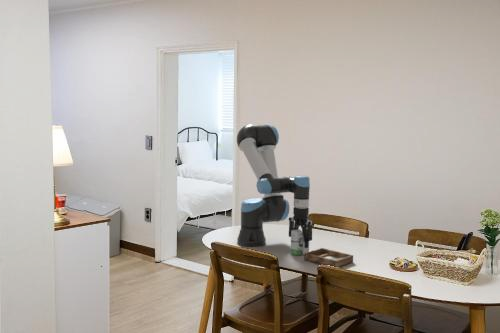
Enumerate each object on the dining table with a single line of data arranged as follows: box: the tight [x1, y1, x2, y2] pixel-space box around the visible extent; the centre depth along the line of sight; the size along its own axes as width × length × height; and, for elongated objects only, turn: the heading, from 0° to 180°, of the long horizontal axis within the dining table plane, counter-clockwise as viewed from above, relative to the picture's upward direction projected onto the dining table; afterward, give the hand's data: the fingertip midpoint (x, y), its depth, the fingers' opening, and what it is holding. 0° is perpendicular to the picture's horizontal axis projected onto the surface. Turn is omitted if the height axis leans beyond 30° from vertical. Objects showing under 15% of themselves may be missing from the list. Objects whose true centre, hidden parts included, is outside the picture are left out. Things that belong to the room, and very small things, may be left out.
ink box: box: [290, 228, 310, 256], centre depth 262 cm, size 9×5×12 cm, turn 128°
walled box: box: [304, 247, 354, 268], centre depth 250 cm, size 18×14×4 cm
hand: (299, 252), depth 263 cm, fingers closed on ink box, 5 cm apart
